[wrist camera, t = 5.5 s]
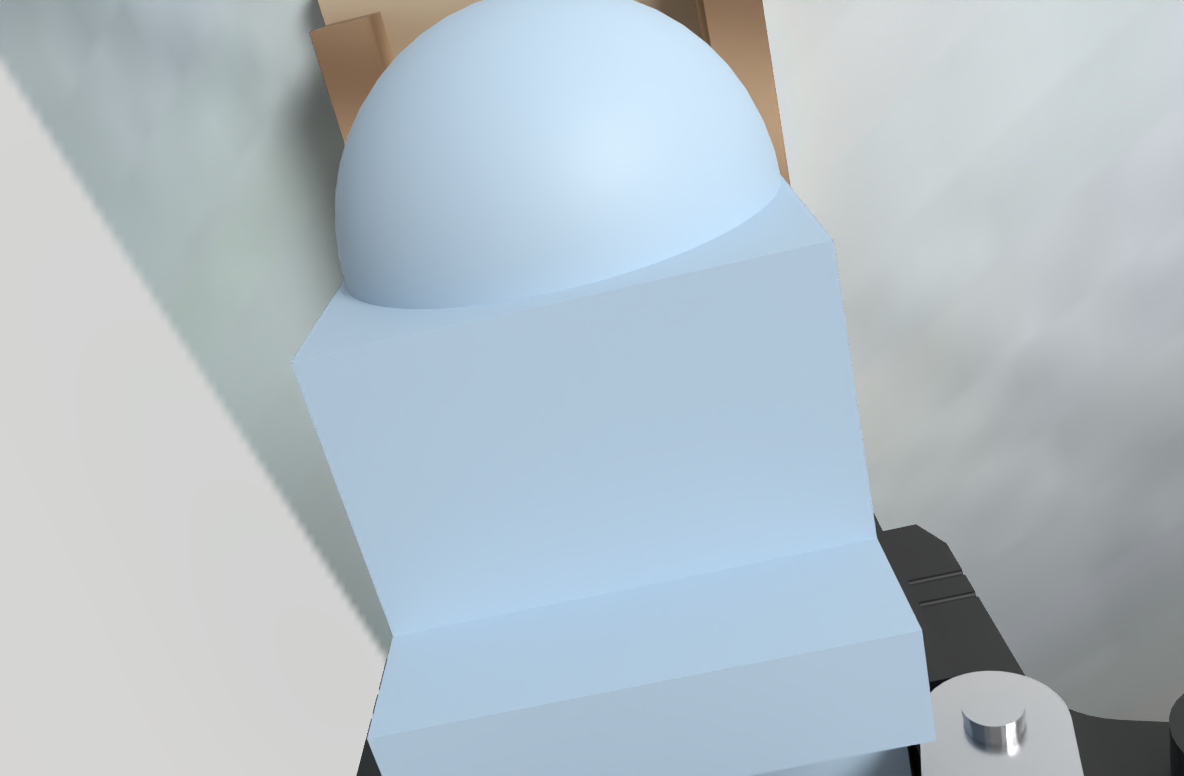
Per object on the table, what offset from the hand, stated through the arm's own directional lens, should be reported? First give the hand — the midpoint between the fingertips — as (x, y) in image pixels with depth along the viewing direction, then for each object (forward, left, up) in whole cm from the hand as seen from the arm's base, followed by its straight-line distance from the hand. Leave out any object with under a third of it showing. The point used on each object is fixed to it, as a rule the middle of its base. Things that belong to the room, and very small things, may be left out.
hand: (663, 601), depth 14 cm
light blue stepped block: (0, 0, 0) cm, 1 cm away
